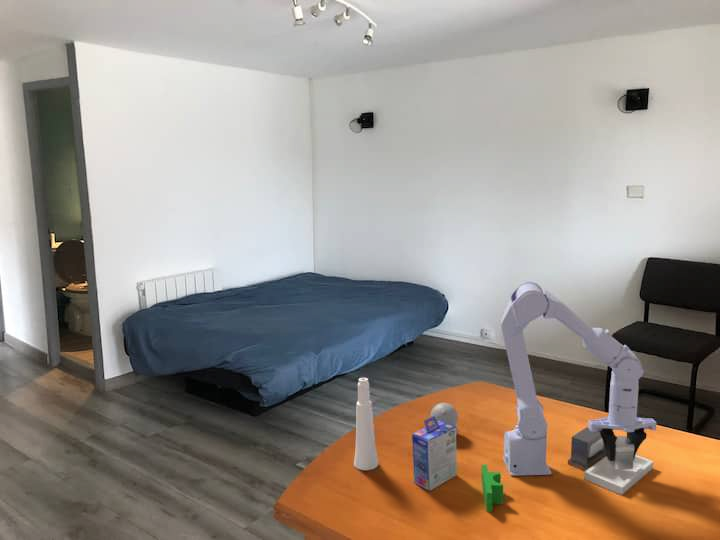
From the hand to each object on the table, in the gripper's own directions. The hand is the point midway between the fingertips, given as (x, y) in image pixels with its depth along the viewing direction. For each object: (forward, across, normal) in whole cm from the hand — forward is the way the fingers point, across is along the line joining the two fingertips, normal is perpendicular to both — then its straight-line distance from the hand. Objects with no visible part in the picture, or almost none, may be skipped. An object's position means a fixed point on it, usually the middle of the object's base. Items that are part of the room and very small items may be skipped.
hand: (619, 458), depth 129 cm
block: (+2, 0, 0) cm, 2 cm away
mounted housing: (+4, -4, +7) cm, 9 cm away
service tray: (+4, 0, 0) cm, 4 cm away
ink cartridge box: (+4, -42, 0) cm, 43 cm away
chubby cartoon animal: (+4, -38, +23) cm, 44 cm away
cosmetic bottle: (+4, -58, +7) cm, 59 cm away
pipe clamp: (+4, -31, -8) cm, 32 cm away
